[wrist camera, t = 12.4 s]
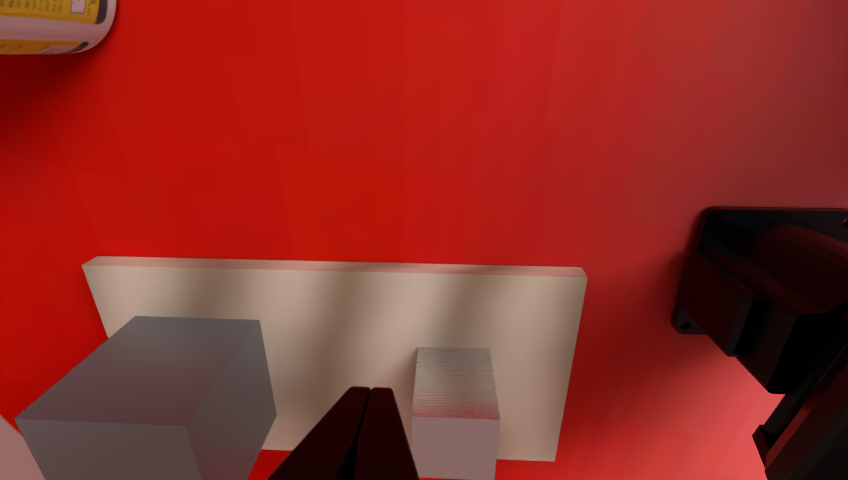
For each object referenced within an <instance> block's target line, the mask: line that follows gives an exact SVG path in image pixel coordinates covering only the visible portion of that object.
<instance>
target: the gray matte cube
mask: <svg viewBox="0 0 848 480" xmlns="http://www.w3.org/2000/svg"><path fill="white" fill-rule="evenodd" d="M276 416H277V413H276V408H275V402H274V397H273V391H272V386H271V380H270V375H269V369H268V364H267V358H266V353H265V347H264V342H263V336H262V331H261V325H260V320H249V319H217V318H184V317H152V316H135V317H133V318H132V319H131V320H130V321H129V322H127V323H126V324H125V325H124V326H123V327H122V328H120V329H119V330H118V331H117V332H116V333H115V334H113V335H112V336H111V337H110V338H109V339H107V340H106V341H105V342H104V343H103V344H102V345H100V346H99V347H98V348H97V349H96V350H95V351H93V352H92V353H91V354H90V355H89V356H87V357H86V358H85V359H84V360H83V361H82V362H80V363H79V364H78V365H77V366H76V367H75V368H73V369H72V370H71V371H70V372H69V373H67V374H66V375H65V376H64V377H63V378H62V379H60V380H59V381H58V382H57V383H56V384H55V385H53V386H52V387H51V388H50V389H49V390H47V391H46V392H45V393H44V394H43V395H42V396H40V397H39V398H38V399H37V400H36V401H35V402H33V403H32V404H31V405H30V406H29V407H27V408H26V409H25V410H24V411H23V412H22V413H20V414H19V415H18V416H17V417H16V418H15V419H14V420H15V422H16V424H17V426H18V428H19V430H20V432H21V433H22V435H23V437H24V439H25V441H26V443H27V445H28V447H29V449H30V450H31V453H32V454H33V456H34V458H35V460H36V462H37V464H38V466H39V468H40V470H41V472H42V474H43V476H44V478H45V480H247V479H248V476H249V474H250V472H251V470H252V468H253V466H254V464H255V461H256V459H257V457H258V455H259V453H260V451H261V448H262V446H263V444H264V442H265V440H266V438H267V436H268V433H269V431H270V429H271V427H272V425H273V423H274V420H275V418H276Z"/></svg>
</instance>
